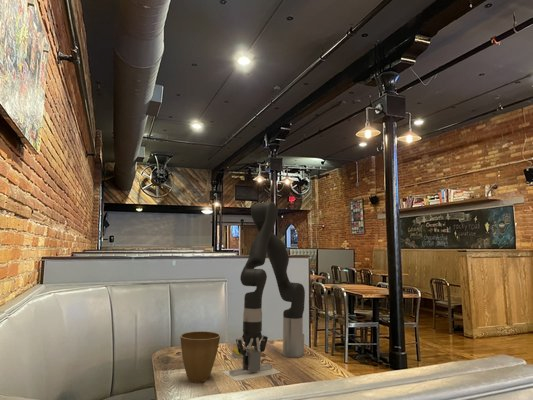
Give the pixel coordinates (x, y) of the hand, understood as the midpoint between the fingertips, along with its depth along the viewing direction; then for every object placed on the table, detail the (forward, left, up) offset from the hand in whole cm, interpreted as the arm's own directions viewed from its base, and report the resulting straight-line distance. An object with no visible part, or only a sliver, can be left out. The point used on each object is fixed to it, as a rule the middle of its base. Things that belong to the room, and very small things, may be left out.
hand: (251, 364), depth 145 cm
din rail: (0, 0, -4) cm, 4 cm away
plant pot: (+20, -5, -4) cm, 21 cm away
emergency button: (-11, -22, -5) cm, 26 cm away
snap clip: (0, 0, -1) cm, 1 cm away
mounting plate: (0, 0, -4) cm, 4 cm away
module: (0, 0, -2) cm, 2 cm away
